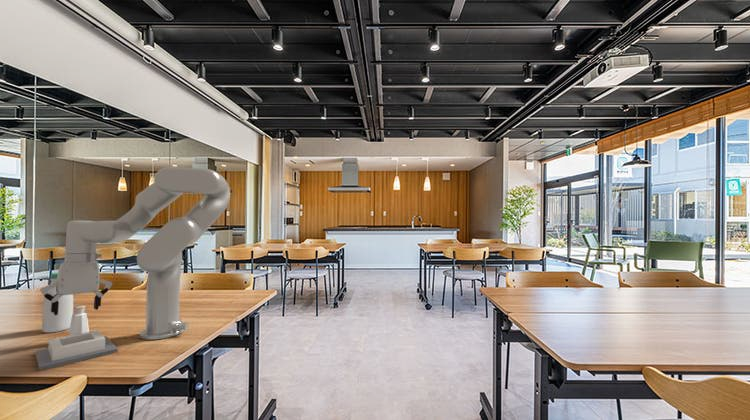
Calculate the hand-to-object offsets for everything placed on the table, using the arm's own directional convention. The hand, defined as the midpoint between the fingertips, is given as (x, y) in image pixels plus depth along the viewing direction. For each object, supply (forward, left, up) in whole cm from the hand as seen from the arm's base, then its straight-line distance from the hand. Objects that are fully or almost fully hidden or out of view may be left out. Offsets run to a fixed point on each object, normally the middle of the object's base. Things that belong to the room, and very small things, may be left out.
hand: (76, 311), depth 104 cm
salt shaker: (-1, 0, -10) cm, 10 cm away
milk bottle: (+17, -10, -10) cm, 22 cm away
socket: (-10, +9, -9) cm, 16 cm away
